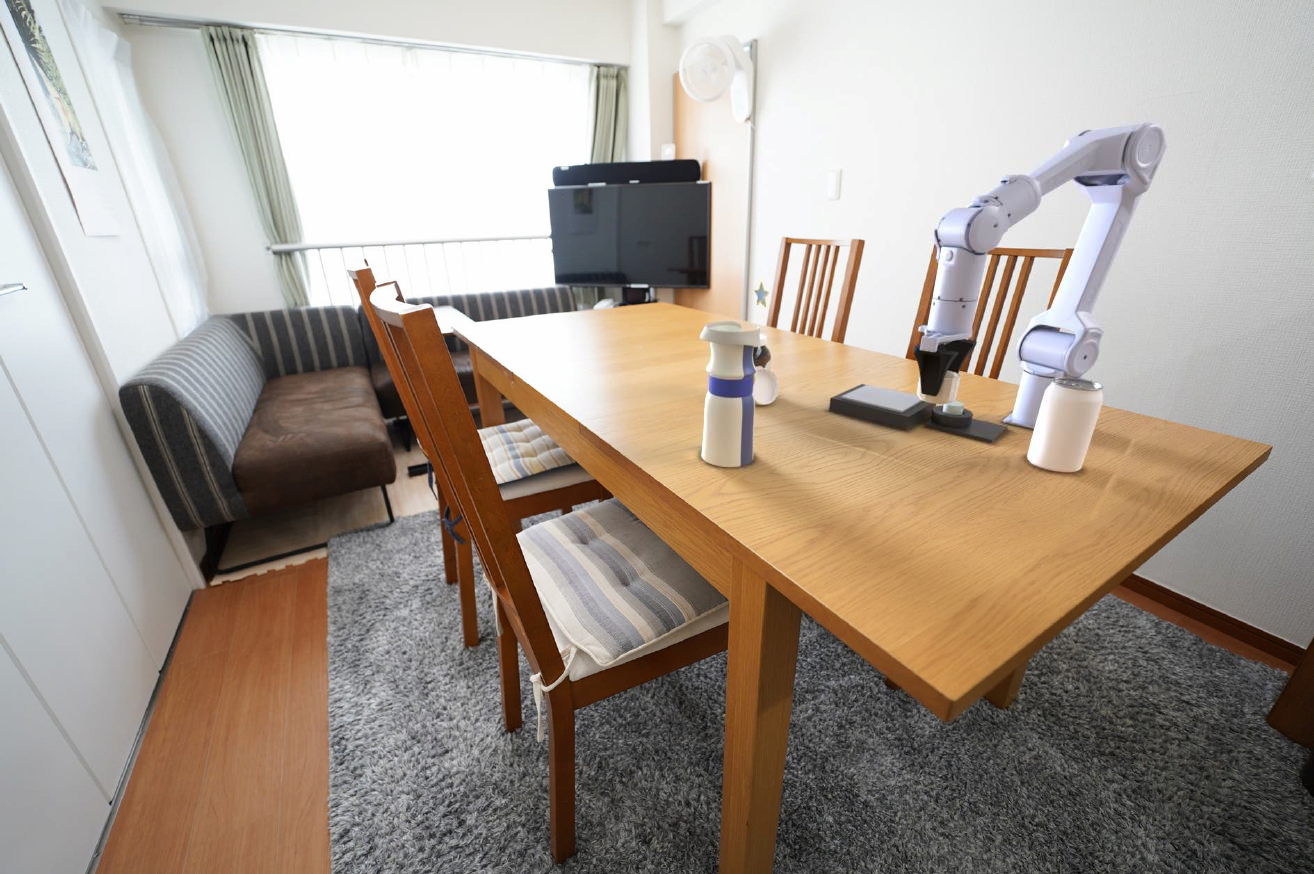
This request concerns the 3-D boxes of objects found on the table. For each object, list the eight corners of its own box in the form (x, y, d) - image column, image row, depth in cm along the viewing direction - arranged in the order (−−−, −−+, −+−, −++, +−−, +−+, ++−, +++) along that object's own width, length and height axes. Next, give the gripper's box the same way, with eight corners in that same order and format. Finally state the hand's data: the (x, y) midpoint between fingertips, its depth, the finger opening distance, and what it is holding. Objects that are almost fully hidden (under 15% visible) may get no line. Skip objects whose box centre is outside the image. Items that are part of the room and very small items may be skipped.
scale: (934, 413, 97) (937, 397, 96) (906, 431, 89) (909, 414, 88) (860, 396, 106) (862, 381, 105) (828, 411, 98) (830, 395, 97)
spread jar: (740, 384, 114) (742, 329, 110) (791, 394, 108) (796, 336, 103) (711, 400, 105) (712, 340, 101) (764, 411, 99) (769, 348, 94)
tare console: (1006, 430, 89) (1010, 416, 88) (991, 444, 84) (994, 429, 83) (940, 415, 96) (943, 401, 95) (922, 426, 91) (925, 412, 90)
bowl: (960, 398, 83) (965, 373, 81) (947, 407, 79) (952, 381, 78) (924, 391, 86) (928, 367, 85) (910, 399, 83) (914, 374, 81)
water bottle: (721, 440, 87) (728, 277, 77) (766, 455, 81) (779, 282, 71) (687, 455, 81) (689, 283, 72) (732, 472, 76) (741, 288, 66)
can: (1064, 478, 73) (1090, 393, 69) (1016, 460, 78) (1037, 380, 74) (1090, 468, 76) (1117, 386, 71) (1042, 451, 81) (1064, 374, 77)
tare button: (965, 412, 91) (967, 403, 90) (958, 417, 89) (960, 407, 88) (946, 408, 93) (948, 399, 92) (939, 413, 91) (941, 403, 90)
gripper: (944, 291, 84) (928, 375, 90) (905, 301, 75) (890, 395, 80) (994, 295, 80) (974, 383, 85) (959, 307, 70) (940, 406, 76)
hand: (937, 390), depth 82 cm, fingers closed on bowl, 5 cm apart
